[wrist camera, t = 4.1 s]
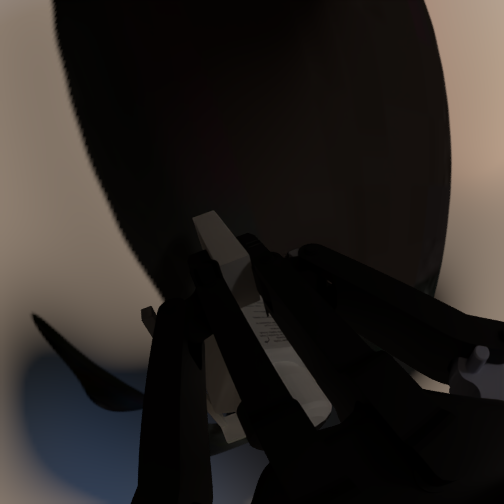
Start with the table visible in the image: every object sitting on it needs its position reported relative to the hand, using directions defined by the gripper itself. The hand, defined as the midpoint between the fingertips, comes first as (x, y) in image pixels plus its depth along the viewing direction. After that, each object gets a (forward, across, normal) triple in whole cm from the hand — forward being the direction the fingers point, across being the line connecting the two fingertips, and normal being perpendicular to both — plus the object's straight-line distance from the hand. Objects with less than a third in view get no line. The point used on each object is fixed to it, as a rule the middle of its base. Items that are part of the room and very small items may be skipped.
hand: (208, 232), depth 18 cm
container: (+3, 0, -12) cm, 12 cm away
